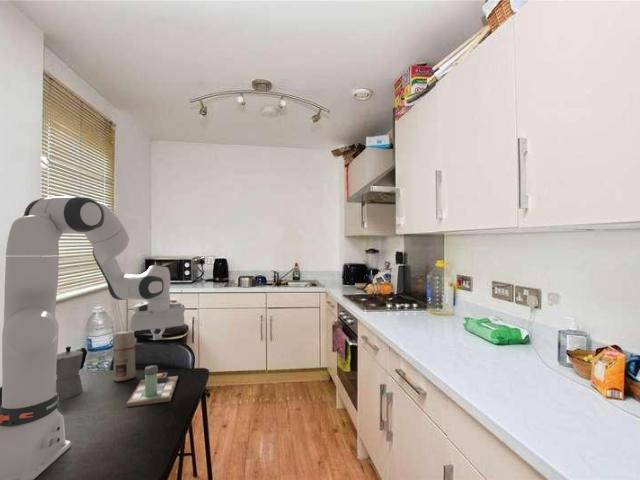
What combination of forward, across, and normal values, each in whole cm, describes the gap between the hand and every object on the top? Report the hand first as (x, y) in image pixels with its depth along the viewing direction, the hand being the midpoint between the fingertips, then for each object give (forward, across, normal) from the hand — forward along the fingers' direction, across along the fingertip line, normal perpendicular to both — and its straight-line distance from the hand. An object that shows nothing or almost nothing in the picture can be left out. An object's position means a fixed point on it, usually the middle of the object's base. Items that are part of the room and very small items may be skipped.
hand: (157, 339), depth 136 cm
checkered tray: (+18, +2, +7) cm, 20 cm away
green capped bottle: (+17, +4, +14) cm, 22 cm away
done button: (+16, -1, 0) cm, 17 cm away
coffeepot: (+19, +28, -11) cm, 36 cm away
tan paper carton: (+18, +10, -16) cm, 26 cm away
